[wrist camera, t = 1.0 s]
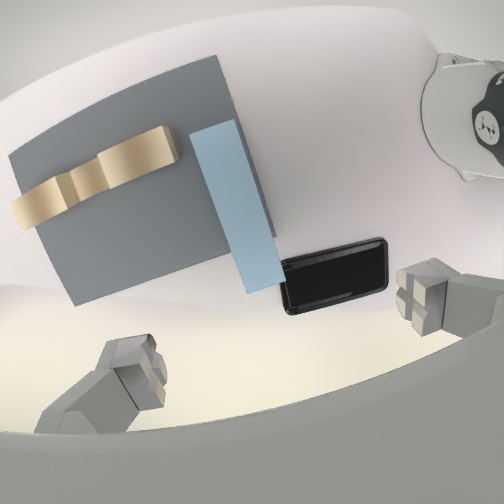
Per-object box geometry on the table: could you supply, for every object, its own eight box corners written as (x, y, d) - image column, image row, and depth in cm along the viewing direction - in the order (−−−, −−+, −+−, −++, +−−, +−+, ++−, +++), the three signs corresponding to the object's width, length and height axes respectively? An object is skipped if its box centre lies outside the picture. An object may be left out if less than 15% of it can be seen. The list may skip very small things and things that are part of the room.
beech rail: (172, 127, 32) (161, 125, 26) (182, 156, 33) (174, 162, 27) (40, 189, 32) (10, 202, 26) (50, 215, 34) (22, 232, 27)
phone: (276, 264, 39) (387, 237, 39) (274, 260, 40) (383, 234, 40) (286, 317, 42) (388, 290, 42) (284, 313, 43) (385, 286, 43)
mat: (216, 55, 30) (216, 54, 30) (275, 235, 38) (276, 236, 38) (9, 155, 30) (8, 155, 30) (76, 305, 39) (75, 306, 38)
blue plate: (227, 123, 33) (233, 119, 23) (266, 239, 38) (286, 280, 28) (196, 134, 33) (189, 134, 23) (238, 249, 38) (247, 294, 28)
